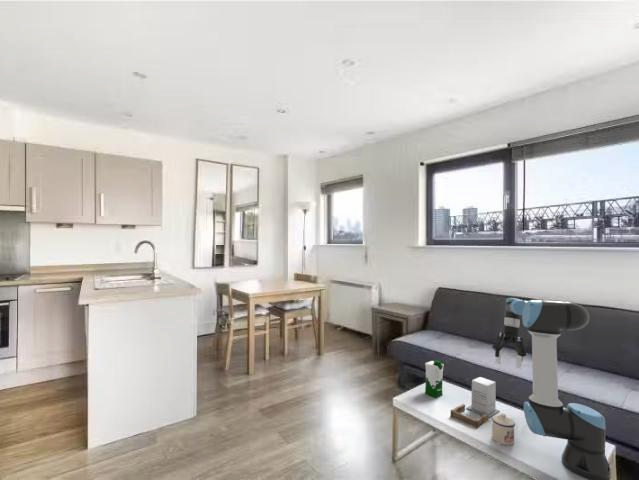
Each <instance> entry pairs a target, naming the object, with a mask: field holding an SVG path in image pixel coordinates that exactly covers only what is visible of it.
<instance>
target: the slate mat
mask: <svg viewBox="0 0 639 480" xmlns="http://www.w3.org/2000/svg"><path fill="white" fill-rule="evenodd" d="M471 406H472V404H470V405H469V406H467V407H465V410H468V411H471V412H473V413H475V414H478V415H480V416H483V415H484V414H485V413H482V412H480V411H477V410H475V409H473V408H471ZM500 411H501V410H499V409H498V408H496V410H495V411H493V412H491V413H490V414H489V416H488V419H492V417H493V416H494V415H498V413H500Z"/></svg>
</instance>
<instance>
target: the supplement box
mask: <svg viewBox="0 0 639 480" xmlns="http://www.w3.org/2000/svg"><path fill="white" fill-rule="evenodd" d="M496 386H497V383H496V381H494V380H491V379H487V378H485V377H482V376H479V377H476V378H474V379H472V380H471V405H472V406H471V408H473V409H475V410H477V411H480V412H482V413H485V414H490V413H491V412H493V411H495V410H496V409H497V407H496V406H497V405H496V404H497V403H496V394H497V391H496V388H497V387H496Z"/></svg>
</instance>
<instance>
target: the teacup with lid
mask: <svg viewBox="0 0 639 480" xmlns="http://www.w3.org/2000/svg"><path fill="white" fill-rule="evenodd" d="M491 421H492V427H491V428H492V430H491V437H492V439H493V441H495V442H496V443H498V444H500V445H503V446H507V447H508V446H509V447H511V446H513V445H514V444H515V426H516V422H515V421H514V420H513V419H512V418H511V417H508V416H507V415H506V413H504V412H503V413H500V414H495V415H494V416H492V417H491Z"/></svg>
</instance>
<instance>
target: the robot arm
mask: <svg viewBox="0 0 639 480" xmlns="http://www.w3.org/2000/svg"><path fill="white" fill-rule="evenodd" d="M521 317H522V318H521ZM503 320H504V322H503V324H504V325H503V331H502V332H498V336H497V338H496V340H495V342H494V343H493V345H492V347H491V348H492V349H493V350H494V351H495V354H494V356H495V362H494V363H495V364H497V365H501V359H502V351H501V350H502V349H503V348H504V347H505V346H506V345H507V344H511V345H512V346H513V348H514V349H515V351H516V353H517V355H516V360H515V361H516V362H515V367H516V369H522V363H523V357H526V356H527V352H526V348H525V346H524V342H523V337H519V335H520V324H521V323H520V321H521V320H522V324H523V325H522V326H523V327H525V328H527V332H528V333H529V334H530V335H531V348H532V349H531V352H532V353H531V356H532V358H531V359H532V360H531V362H532V394H531V395H529V396H528V401H524V403H523V413H524V414H523V415H524V417H525V418H524V419H525V421H526V424H527V426H528V429H529V430H530V431H531V433H533V434H535V435H539V436H543V437H548V438H549V437H550V438H553V439H556V438H557V439H562V440H567V442H566V445H565V447H564V449H563V452H562V454H561V462H562V464H563V465H564V466H565V468H567V469H568V470H569V471H571V472H572V473H574V474H576V475H577V476H579V477H583V478H585V479H588V480H611V478H612V470H611V467H610V464H609V462H608V459H607V456H606V430H607V427H606V419H605V417H604V416H603V415H602V414H601V413H600V412H599V411H597V410H595V409H593V408H591V407H590V406H587V405H583V404H580V403H576V402H570V403H568V404H567V405H566V407H564V404H563V402H562V401H561V400H560V399H559V392H558V391H559V390H558V389H559V385H558V383H559V382H558V381H559V380H558V351H557V350H558V349H557V348H558V346H557V339H558V338H559V337H560V336H561V335H562V331H576V330H577V331H578V330H580V329H583V328H585V327H586V326H587V325H588V324H589V322H590V314H589V312H588V310H587V309H586V308H585V307H584V306H582V305H581V304H578V303H574V302H570V301H559V300H558V301H556V300H555V301H554V300H542V299H530V300H522V299H519V298H514V297H508V298H506V300H505V308H504V318H503Z"/></svg>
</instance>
